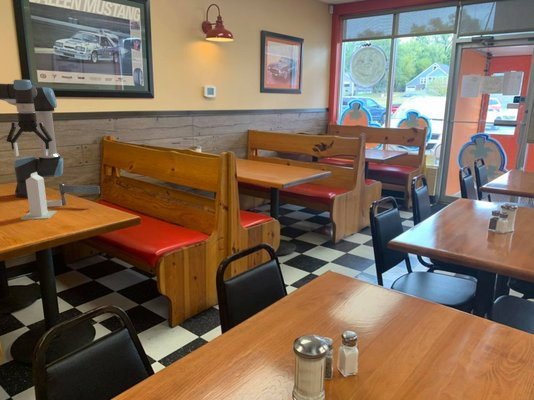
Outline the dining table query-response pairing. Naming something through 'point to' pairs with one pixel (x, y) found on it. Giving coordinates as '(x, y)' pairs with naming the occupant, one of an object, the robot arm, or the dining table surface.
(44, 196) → the milk
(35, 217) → the mat
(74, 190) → the dark grey metallic bar
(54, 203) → the bracket
